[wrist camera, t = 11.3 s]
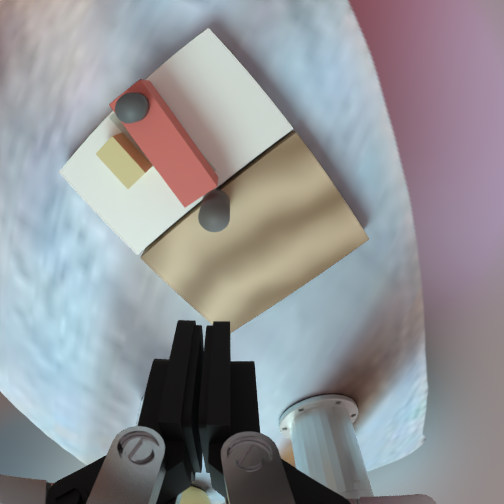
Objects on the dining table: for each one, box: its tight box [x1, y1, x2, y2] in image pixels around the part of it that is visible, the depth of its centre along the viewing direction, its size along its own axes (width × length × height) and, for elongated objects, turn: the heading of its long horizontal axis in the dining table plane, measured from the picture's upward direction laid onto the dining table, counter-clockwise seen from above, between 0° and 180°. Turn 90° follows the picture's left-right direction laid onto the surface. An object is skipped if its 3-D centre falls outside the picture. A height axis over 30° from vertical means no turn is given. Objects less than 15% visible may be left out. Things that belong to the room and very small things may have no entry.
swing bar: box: [109, 79, 219, 207], centre depth 23 cm, size 10×3×4 cm, turn 32°
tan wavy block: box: [141, 131, 369, 333], centre depth 29 cm, size 13×18×5 cm
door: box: [59, 28, 293, 255], centre depth 25 cm, size 11×18×4 cm, turn 128°
